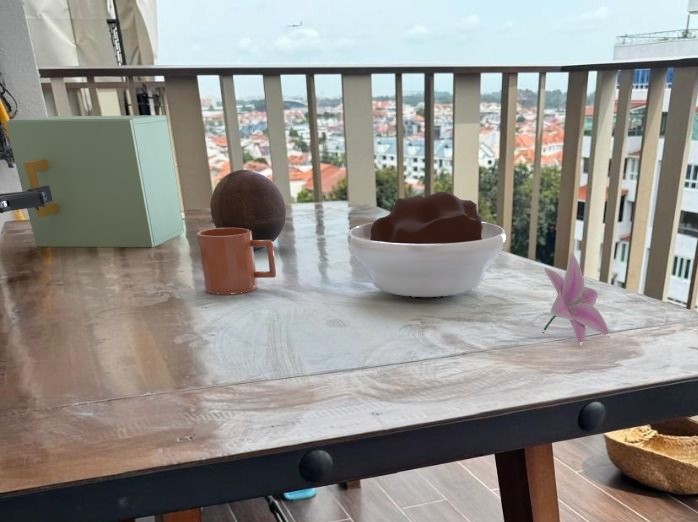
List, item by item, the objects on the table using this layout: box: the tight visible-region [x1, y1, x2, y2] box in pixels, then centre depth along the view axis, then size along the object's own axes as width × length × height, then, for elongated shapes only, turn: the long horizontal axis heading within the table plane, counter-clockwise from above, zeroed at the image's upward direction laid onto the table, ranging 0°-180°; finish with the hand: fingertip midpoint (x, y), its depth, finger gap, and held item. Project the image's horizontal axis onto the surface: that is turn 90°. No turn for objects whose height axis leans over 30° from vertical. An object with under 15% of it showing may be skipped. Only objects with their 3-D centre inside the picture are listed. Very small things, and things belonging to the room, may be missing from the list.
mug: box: [196, 227, 277, 296], centre depth 125 cm, size 12×9×9 cm
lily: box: [542, 252, 611, 349], centre depth 99 cm, size 12×12×10 cm
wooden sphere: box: [210, 169, 287, 251], centre depth 153 cm, size 15×15×15 cm
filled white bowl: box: [347, 191, 507, 299], centre depth 119 cm, size 25×25×15 cm
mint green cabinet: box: [4, 120, 154, 248], centre depth 152 cm, size 7×26×24 cm, turn 84°
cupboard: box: [7, 114, 185, 248], centre depth 163 cm, size 18×26×24 cm
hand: (15, 193), depth 144 cm, fingers open, 13 cm apart
